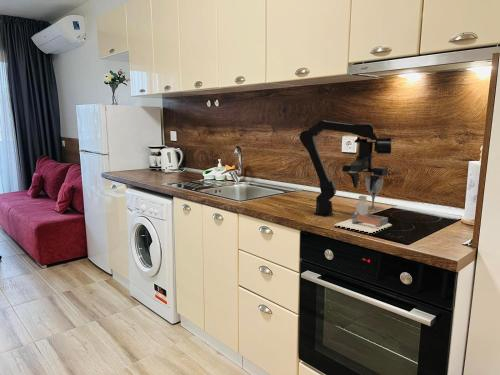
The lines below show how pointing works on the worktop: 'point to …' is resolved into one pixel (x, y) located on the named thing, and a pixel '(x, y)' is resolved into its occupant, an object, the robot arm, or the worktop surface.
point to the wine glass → (374, 190)
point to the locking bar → (365, 219)
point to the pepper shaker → (362, 206)
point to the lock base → (365, 224)
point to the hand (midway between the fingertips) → (363, 189)
